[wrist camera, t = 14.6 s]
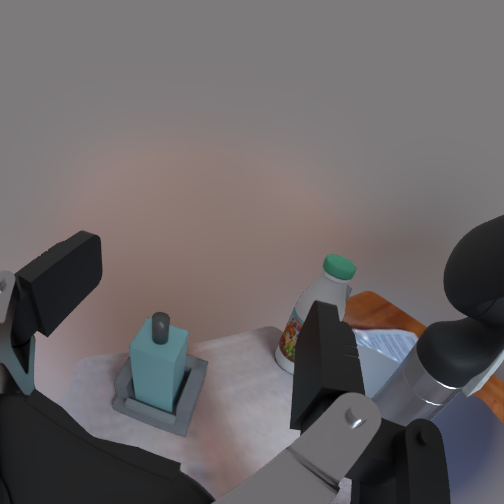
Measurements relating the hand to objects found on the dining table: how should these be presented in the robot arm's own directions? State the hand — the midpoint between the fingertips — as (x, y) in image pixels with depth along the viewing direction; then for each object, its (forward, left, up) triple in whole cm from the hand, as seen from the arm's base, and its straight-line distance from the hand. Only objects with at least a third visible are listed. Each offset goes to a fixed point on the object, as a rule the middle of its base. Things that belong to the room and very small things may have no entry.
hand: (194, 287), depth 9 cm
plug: (+3, -13, -27) cm, 30 cm away
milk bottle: (-18, -24, -29) cm, 41 cm away
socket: (+3, -13, -28) cm, 31 cm away
